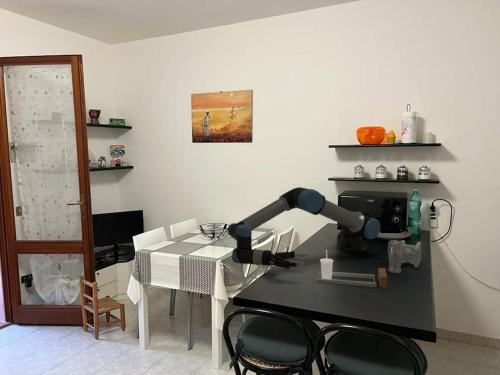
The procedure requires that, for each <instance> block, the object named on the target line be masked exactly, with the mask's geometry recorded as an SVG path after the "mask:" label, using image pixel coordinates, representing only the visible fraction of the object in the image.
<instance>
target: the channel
mask: <svg viewBox="0 0 500 375" xmlns="http://www.w3.org/2000/svg"><path fill="white" fill-rule="evenodd" d="M377 271H378V272H377V280H378V284H379V288H382V289H384V288H385V289H387V288H388V275H387V270H386V268H385V267H378V269H377ZM318 275H319V276H322V273H321V270H319V272H318ZM333 276H334V277H344V278H345V277H346V278H359V279H360V278H361V279H370V280H373V281H360V280H359V281H357V280H349V279H348V280H347V279H336V278H333V279H323V278H322V277H317V278H316V282H317V283H319V284H320V283H322V284H335V285H344V286H346V285H347V286H360V287H371V288H377V282H376V279H375V278H376V275H375V274H372V273H371V274H370V273H369V274H368V273H358V272H357V273H356V272H355V273H354V272H353V273H352V272H340V271H332V277H333Z"/></svg>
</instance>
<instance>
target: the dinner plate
mask: <svg viewBox="0 0 500 375" xmlns="http://www.w3.org/2000/svg"><path fill="white" fill-rule="evenodd" d="M403 231H404V230H403ZM410 236H411V233H410V232H408V231H404V232H401V233H381V232H379V234H378V236H377V237H375V238H377V239H379V240H384V241H391V240H396V241H401V240H403V239H407V238H408V237H410Z"/></svg>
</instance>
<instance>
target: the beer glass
mask: <svg viewBox="0 0 500 375" xmlns="http://www.w3.org/2000/svg"><path fill="white" fill-rule="evenodd" d="M387 241H388V242H387V243H388V244H387V256H388V262H389V264H388V269H387V271H388V272H389V273H391V274H400V273H402V264H401V260H402V255H403V242H401V240H387Z"/></svg>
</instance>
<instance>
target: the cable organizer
mask: <svg viewBox="0 0 500 375" xmlns="http://www.w3.org/2000/svg"><path fill="white" fill-rule="evenodd" d="M400 241H401V242H403V255H402V260H401V265H402V264H403V263H404V264H406V263H409V264H411V265H413V266H414V268H415V269H418V268H419V266H420V263H421V261H422V241H417V242H416V245H414V244H412V245H411V244H406V241H405V240H403V239H400Z"/></svg>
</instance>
